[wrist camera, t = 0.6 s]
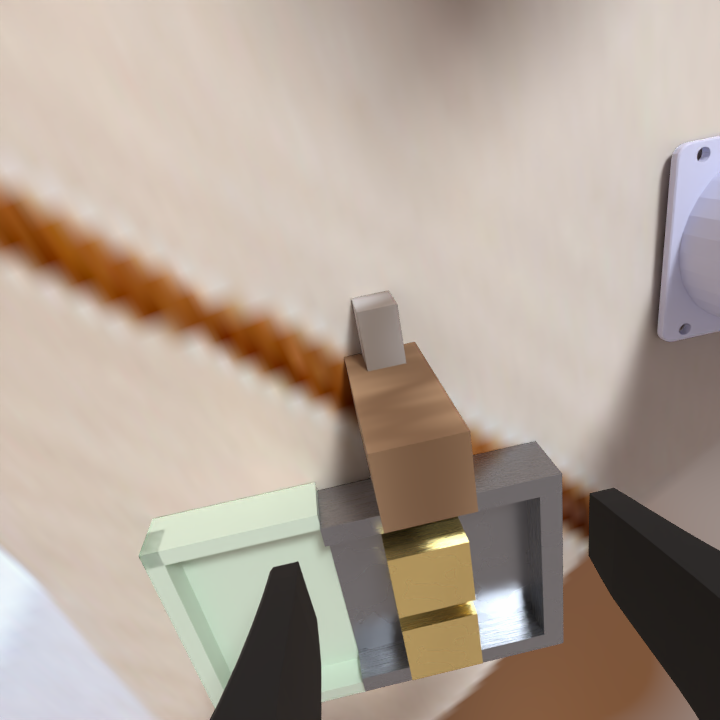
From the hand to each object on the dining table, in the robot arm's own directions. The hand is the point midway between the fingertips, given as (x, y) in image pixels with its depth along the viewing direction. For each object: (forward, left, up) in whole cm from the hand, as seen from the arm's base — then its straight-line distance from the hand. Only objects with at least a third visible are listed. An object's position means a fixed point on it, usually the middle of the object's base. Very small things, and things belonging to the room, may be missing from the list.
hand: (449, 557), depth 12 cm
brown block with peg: (0, 0, -10) cm, 10 cm away
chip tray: (+8, +10, -10) cm, 16 cm away
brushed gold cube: (0, +8, -9) cm, 12 cm away
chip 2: (0, +13, -9) cm, 15 cm away
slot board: (-1, +10, -10) cm, 14 cm away
